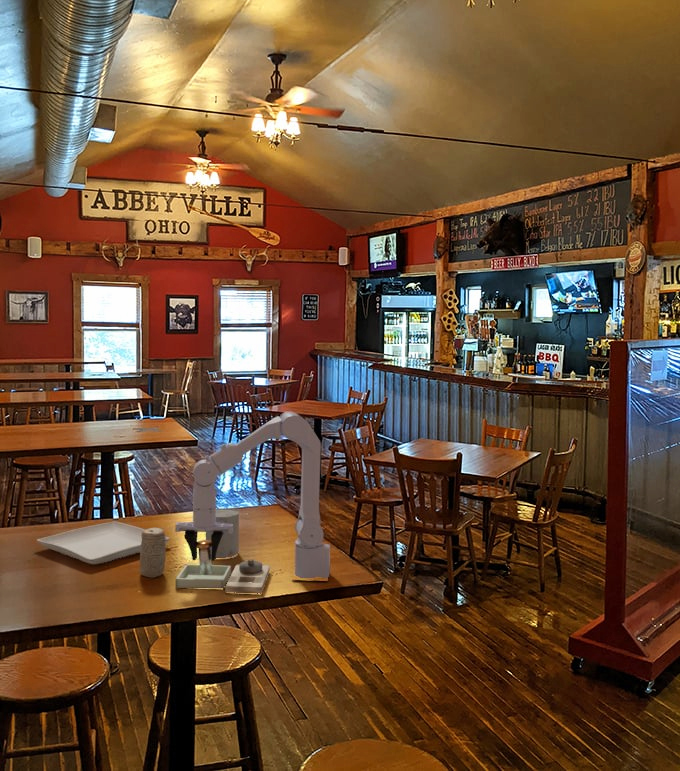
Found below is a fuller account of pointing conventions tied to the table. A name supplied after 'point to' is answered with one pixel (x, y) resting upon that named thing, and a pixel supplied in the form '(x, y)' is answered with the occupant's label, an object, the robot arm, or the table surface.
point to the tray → (203, 577)
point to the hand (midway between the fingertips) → (204, 559)
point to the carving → (152, 552)
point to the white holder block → (248, 577)
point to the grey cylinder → (228, 540)
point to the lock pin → (204, 556)
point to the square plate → (97, 542)
